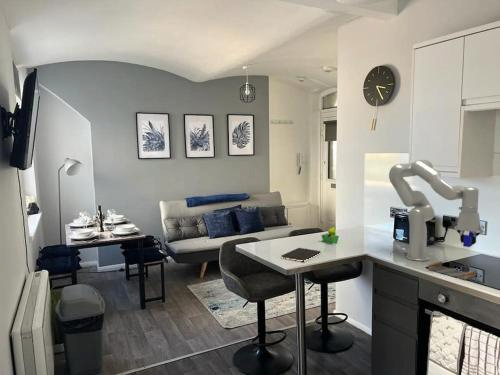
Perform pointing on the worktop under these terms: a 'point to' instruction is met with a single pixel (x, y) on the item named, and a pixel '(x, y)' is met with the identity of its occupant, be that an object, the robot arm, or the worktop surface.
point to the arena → (451, 271)
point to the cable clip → (468, 240)
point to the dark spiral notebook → (301, 254)
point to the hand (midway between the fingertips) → (467, 242)
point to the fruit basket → (330, 236)
